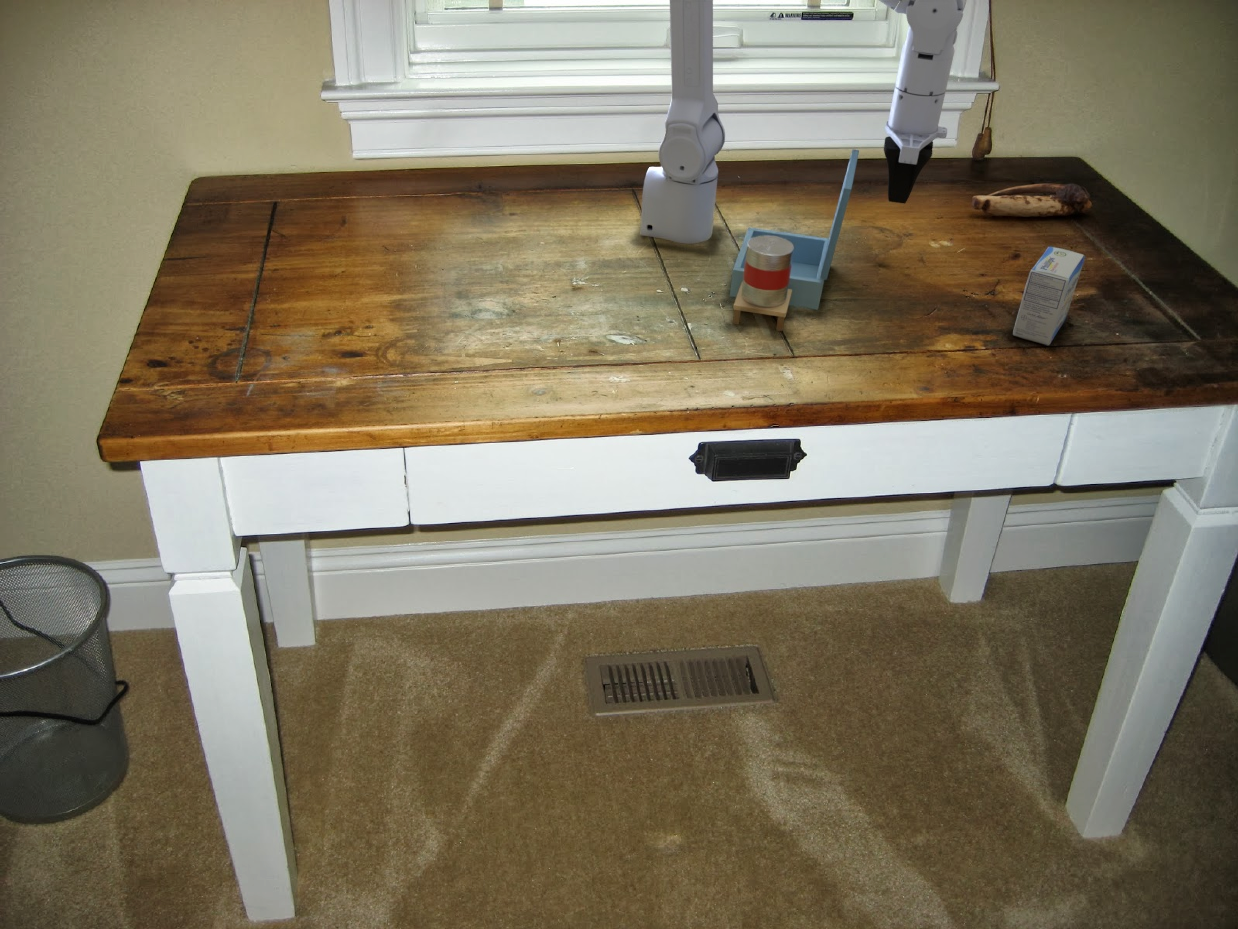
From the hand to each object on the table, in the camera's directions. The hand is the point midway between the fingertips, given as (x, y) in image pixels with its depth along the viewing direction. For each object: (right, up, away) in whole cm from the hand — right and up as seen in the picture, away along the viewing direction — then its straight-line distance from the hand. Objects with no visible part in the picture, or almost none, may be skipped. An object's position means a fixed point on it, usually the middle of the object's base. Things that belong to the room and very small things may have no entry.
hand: (897, 200), depth 131 cm
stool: (-18, -16, -6) cm, 24 cm away
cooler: (-14, -10, +2) cm, 17 cm away
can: (-17, -13, -7) cm, 23 cm away
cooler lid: (-9, -3, -5) cm, 10 cm away
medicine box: (+16, -16, -4) cm, 23 cm away
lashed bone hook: (+24, +4, +24) cm, 35 cm away
